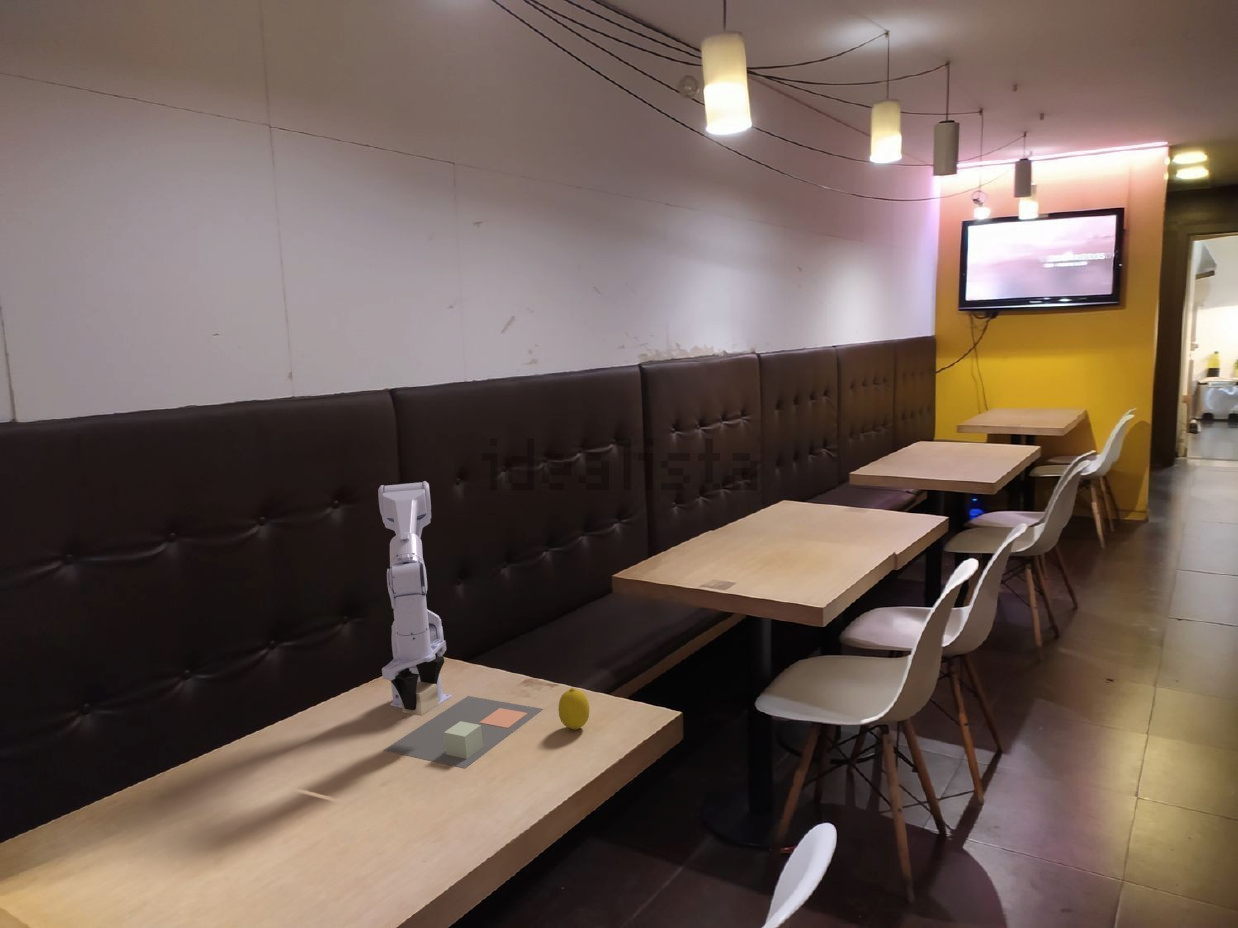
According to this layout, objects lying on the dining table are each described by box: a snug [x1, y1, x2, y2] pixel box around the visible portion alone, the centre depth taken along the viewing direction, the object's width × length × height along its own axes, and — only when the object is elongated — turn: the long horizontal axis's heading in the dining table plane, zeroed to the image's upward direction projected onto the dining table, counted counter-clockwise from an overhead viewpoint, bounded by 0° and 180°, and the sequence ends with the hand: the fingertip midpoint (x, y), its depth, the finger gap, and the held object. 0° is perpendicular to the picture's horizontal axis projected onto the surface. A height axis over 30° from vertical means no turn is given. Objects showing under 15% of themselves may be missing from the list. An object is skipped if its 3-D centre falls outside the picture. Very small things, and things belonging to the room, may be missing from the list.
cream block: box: [401, 681, 440, 717], centre depth 149 cm, size 4×4×4 cm
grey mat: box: [383, 695, 544, 769], centre depth 153 cm, size 18×24×1 cm
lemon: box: [558, 687, 590, 731], centre depth 149 cm, size 6×6×8 cm
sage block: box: [444, 721, 483, 759], centre depth 144 cm, size 4×4×4 cm
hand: (420, 702), depth 149 cm, fingers closed on cream block, 4 cm apart
